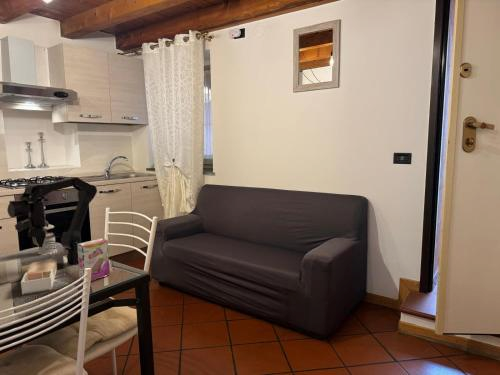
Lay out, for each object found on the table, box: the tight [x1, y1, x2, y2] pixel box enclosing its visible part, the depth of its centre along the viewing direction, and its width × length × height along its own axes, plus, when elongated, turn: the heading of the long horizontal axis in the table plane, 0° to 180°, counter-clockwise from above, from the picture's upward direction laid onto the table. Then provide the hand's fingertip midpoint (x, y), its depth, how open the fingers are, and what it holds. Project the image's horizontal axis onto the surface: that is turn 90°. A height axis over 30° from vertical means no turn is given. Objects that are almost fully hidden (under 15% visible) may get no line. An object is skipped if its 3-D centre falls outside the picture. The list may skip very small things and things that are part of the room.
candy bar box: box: [77, 238, 110, 281], centre depth 146 cm, size 11×5×16 cm, turn 141°
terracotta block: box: [27, 270, 43, 281], centre depth 141 cm, size 5×5×2 cm
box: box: [20, 269, 55, 295], centre depth 140 cm, size 10×11×5 cm
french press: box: [32, 205, 58, 256], centre depth 181 cm, size 10×12×25 cm
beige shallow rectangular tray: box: [26, 258, 58, 280], centre depth 152 cm, size 10×16×4 cm, turn 25°
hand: (40, 247), depth 152 cm, fingers closed
